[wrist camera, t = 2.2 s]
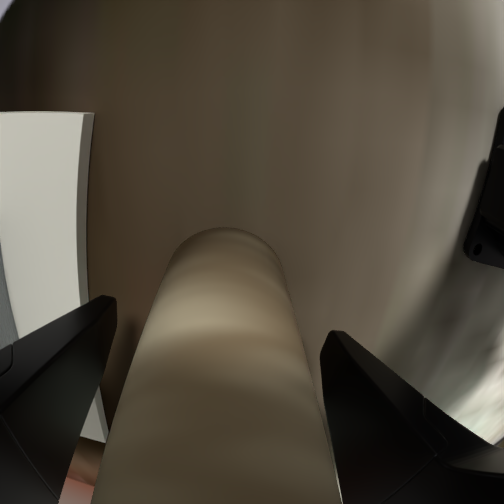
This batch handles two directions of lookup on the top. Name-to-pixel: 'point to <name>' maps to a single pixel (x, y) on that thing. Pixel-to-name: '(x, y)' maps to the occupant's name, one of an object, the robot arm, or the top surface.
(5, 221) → the white flat square slab
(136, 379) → the tan cylinder
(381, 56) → the top surface
